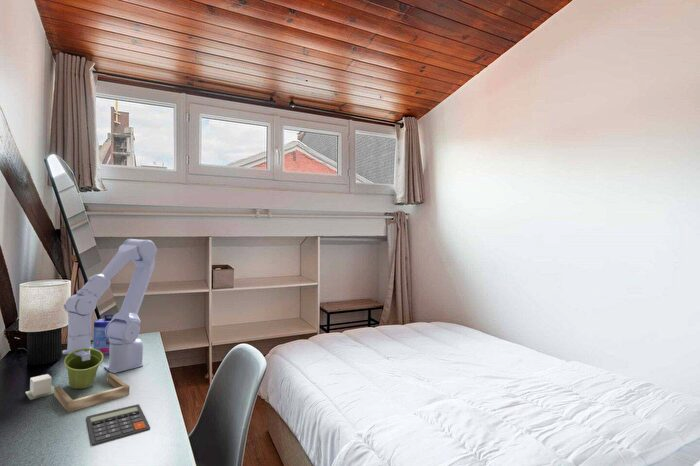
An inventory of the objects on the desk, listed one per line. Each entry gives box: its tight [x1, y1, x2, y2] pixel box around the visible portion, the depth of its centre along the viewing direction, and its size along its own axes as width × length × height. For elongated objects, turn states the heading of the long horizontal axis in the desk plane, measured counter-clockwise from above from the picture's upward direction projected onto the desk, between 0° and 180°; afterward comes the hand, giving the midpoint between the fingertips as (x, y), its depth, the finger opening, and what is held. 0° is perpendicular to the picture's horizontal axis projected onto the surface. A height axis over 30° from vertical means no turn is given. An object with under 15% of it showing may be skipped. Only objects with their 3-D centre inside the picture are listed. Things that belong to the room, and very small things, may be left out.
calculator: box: [85, 403, 151, 446], centre depth 91 cm, size 12×1×15 cm
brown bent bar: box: [25, 372, 130, 413], centre depth 106 cm, size 19×21×2 cm
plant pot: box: [63, 347, 104, 390], centre depth 110 cm, size 9×9×9 cm
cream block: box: [29, 373, 53, 396], centre depth 106 cm, size 4×4×4 cm
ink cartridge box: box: [92, 314, 126, 355], centre depth 141 cm, size 10×6×14 cm, turn 104°
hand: (78, 378), depth 114 cm, fingers closed
